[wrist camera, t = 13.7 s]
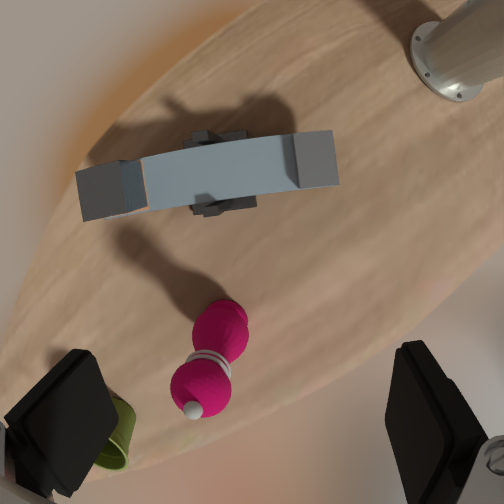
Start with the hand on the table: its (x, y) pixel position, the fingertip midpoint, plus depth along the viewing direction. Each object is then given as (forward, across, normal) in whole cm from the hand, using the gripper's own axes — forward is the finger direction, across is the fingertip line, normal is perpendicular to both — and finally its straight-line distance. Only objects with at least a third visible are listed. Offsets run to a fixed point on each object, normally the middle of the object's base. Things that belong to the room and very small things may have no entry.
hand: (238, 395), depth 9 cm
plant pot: (+32, +31, +33) cm, 56 cm away
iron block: (+25, +16, -6) cm, 30 cm away
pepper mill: (+33, +8, +14) cm, 36 cm away
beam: (+27, +6, -6) cm, 28 cm away
